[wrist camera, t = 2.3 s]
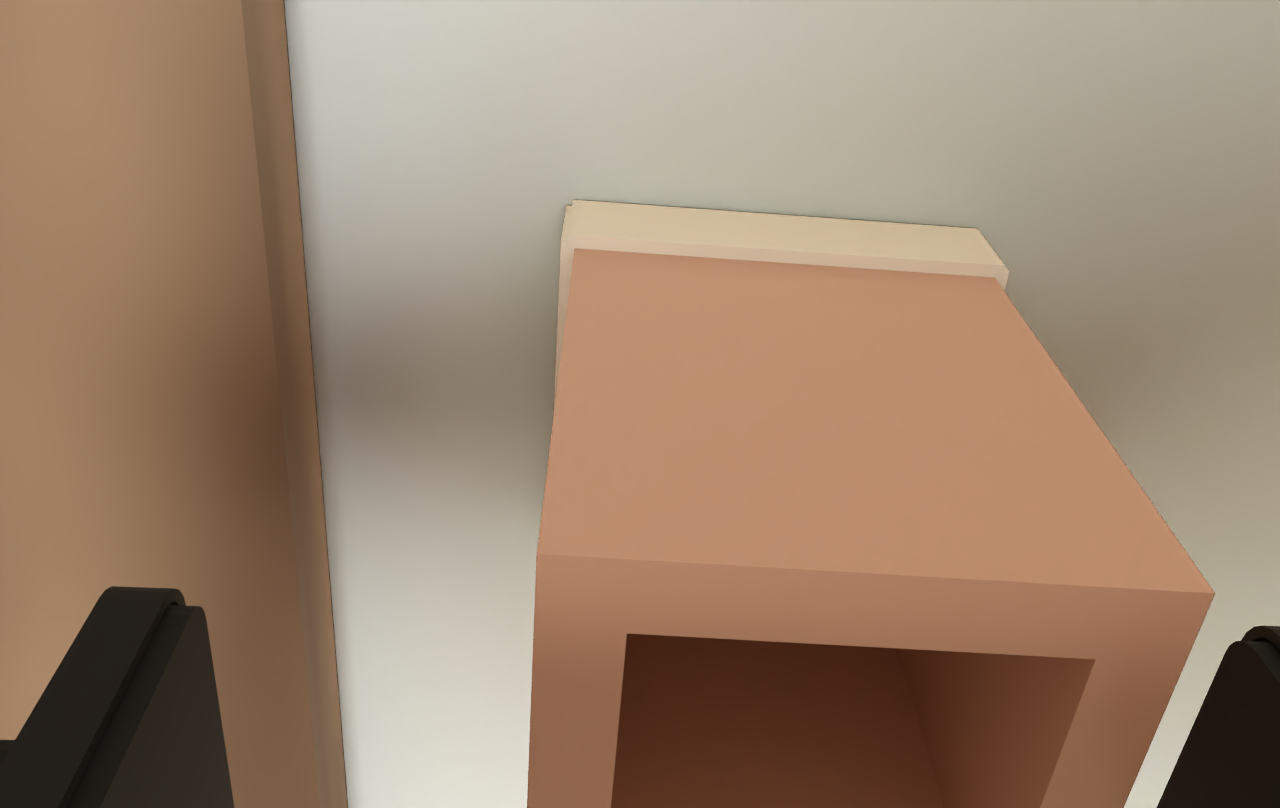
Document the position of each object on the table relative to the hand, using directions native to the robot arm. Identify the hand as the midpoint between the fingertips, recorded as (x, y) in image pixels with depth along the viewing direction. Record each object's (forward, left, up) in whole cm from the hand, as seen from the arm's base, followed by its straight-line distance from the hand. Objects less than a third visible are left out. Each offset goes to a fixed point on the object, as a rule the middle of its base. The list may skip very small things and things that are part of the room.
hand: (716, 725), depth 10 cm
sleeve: (-1, 0, -6) cm, 6 cm away
